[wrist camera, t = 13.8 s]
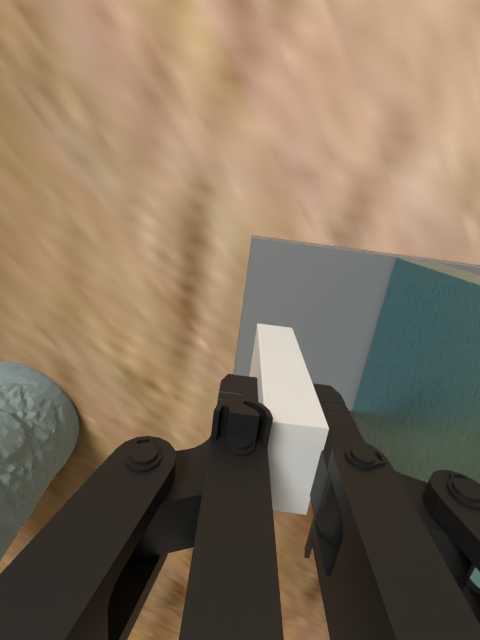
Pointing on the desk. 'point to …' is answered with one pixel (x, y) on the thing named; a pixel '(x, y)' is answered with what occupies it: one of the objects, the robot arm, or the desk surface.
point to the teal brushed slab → (425, 373)
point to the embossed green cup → (30, 442)
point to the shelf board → (319, 305)
